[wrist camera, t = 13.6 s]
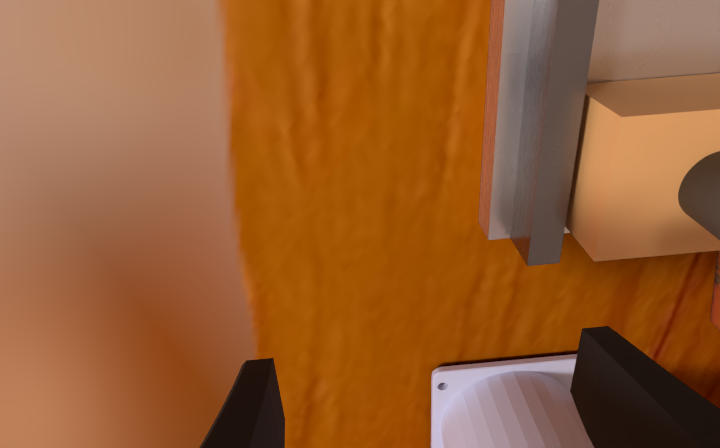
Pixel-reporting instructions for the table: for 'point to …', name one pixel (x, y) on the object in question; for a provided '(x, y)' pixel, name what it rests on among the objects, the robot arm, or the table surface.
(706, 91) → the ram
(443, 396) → the robot arm
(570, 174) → the frame
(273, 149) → the table surface
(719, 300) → the shoe polish box
